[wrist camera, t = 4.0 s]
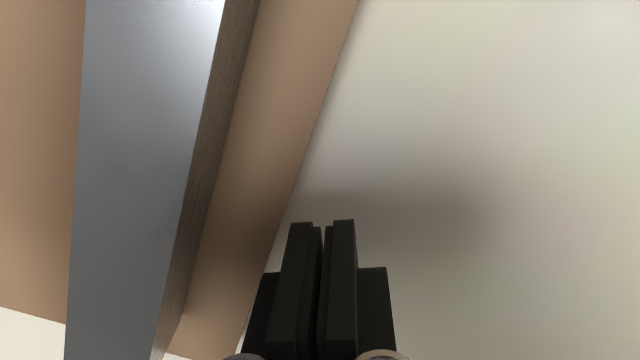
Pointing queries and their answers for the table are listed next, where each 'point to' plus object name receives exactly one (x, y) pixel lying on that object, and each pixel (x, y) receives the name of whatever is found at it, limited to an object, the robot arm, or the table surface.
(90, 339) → the lock bar
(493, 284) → the table surface
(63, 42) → the plate
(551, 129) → the table surface
